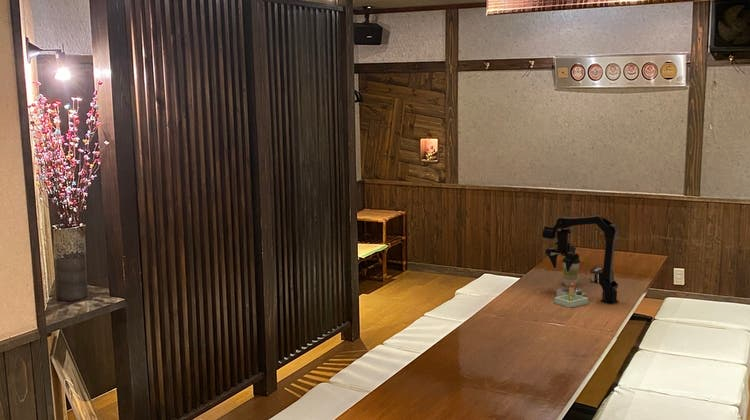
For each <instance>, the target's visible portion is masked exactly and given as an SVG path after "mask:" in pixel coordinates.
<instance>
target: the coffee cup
mask: <svg viewBox="0 0 750 420" xmlns="http://www.w3.org/2000/svg"><path fill="white" fill-rule="evenodd" d="M565 259H566V256H563V257H562V260H561V262H562V271H563V272H562V273H563V281H564V286H567V287H569V285H568V284H569V283H571V282H572V283H576V285H575V286H574V287H576V286H577V283H578V282H577V281H578V276H579V272H580V270H579V269H580V263H581V261H580V258H579V259H577V260H575V261H574V262H573V263H572V265H571V268H570V270H569V271H568V272H567V269H566V262H565Z"/></svg>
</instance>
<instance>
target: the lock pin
mask: <svg viewBox="0 0 750 420" xmlns="http://www.w3.org/2000/svg"><path fill="white" fill-rule="evenodd" d="M568 285H569V286H568V287H569V288H568V289H569V301H573V300H574V288H575V287H576V286H577V282H576V283H572V282H571V283H569V284H568ZM575 285H576V286H575Z"/></svg>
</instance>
